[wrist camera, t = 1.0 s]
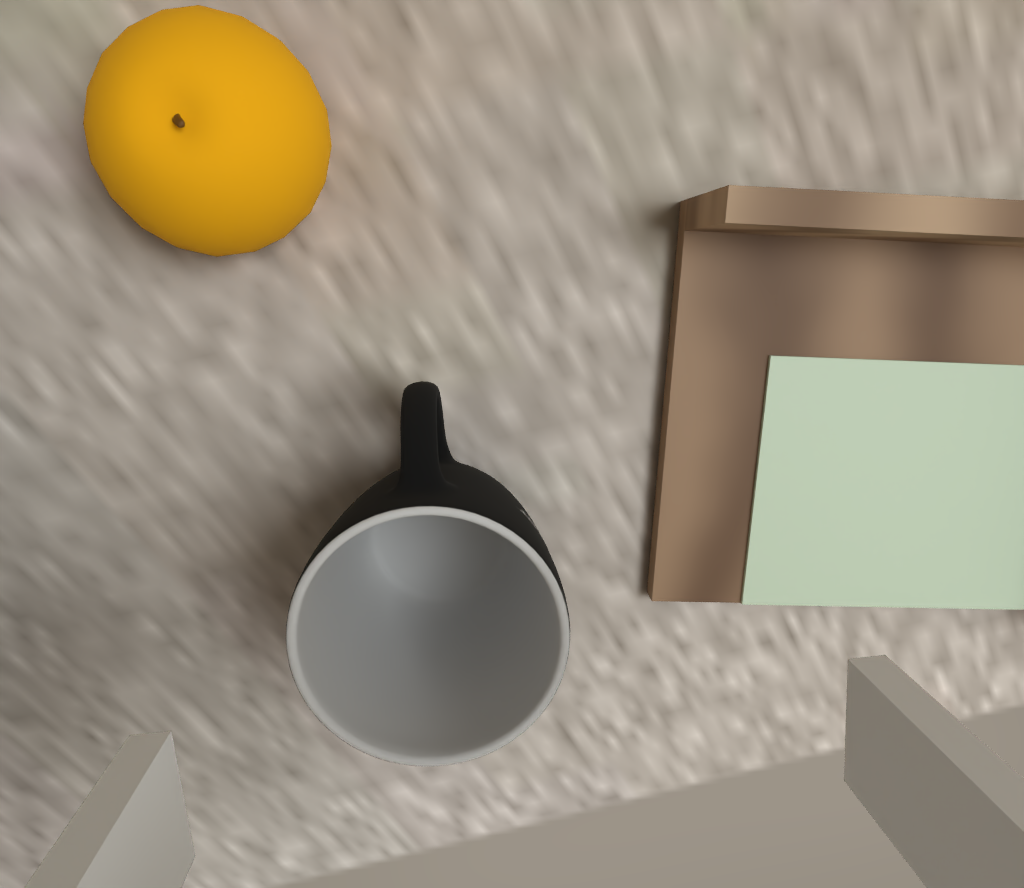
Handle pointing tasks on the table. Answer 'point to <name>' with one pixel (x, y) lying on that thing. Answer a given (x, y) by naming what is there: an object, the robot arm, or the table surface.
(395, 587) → the mug
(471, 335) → the table surface
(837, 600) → the pad
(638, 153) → the table surface
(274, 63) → the yellow orange fruit
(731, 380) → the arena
